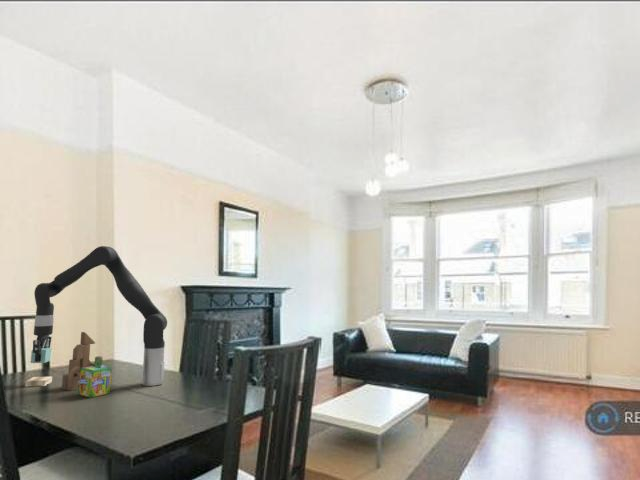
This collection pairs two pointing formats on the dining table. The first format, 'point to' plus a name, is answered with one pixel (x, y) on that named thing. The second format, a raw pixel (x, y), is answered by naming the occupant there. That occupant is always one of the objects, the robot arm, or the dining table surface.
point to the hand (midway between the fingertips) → (40, 360)
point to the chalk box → (95, 380)
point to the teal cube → (42, 356)
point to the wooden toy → (78, 363)
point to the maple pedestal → (38, 381)
